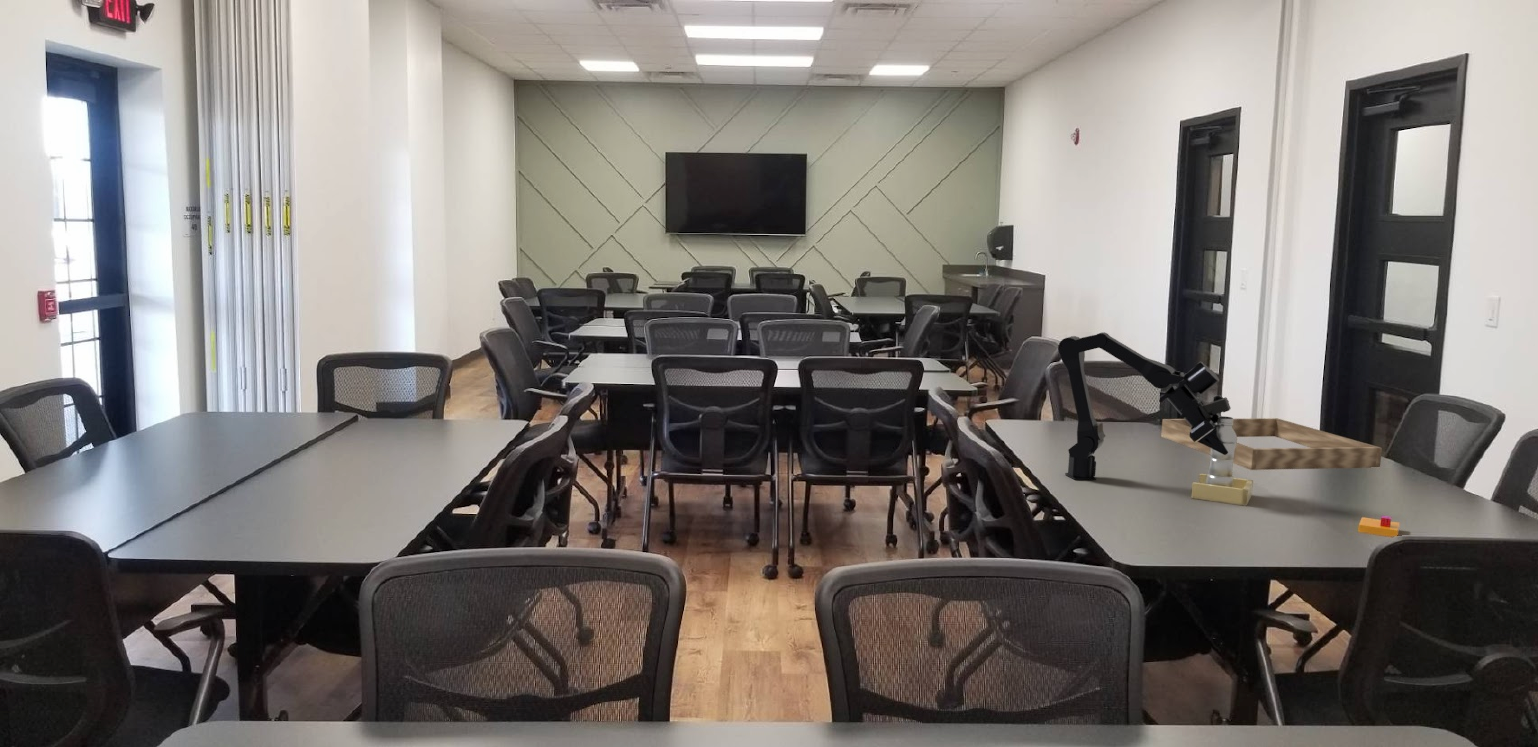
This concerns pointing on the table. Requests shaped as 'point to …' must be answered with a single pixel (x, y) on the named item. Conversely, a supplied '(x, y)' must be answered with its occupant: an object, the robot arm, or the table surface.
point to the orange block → (1379, 526)
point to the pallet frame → (1320, 455)
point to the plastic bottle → (1219, 462)
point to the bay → (1223, 491)
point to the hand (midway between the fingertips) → (1228, 451)
